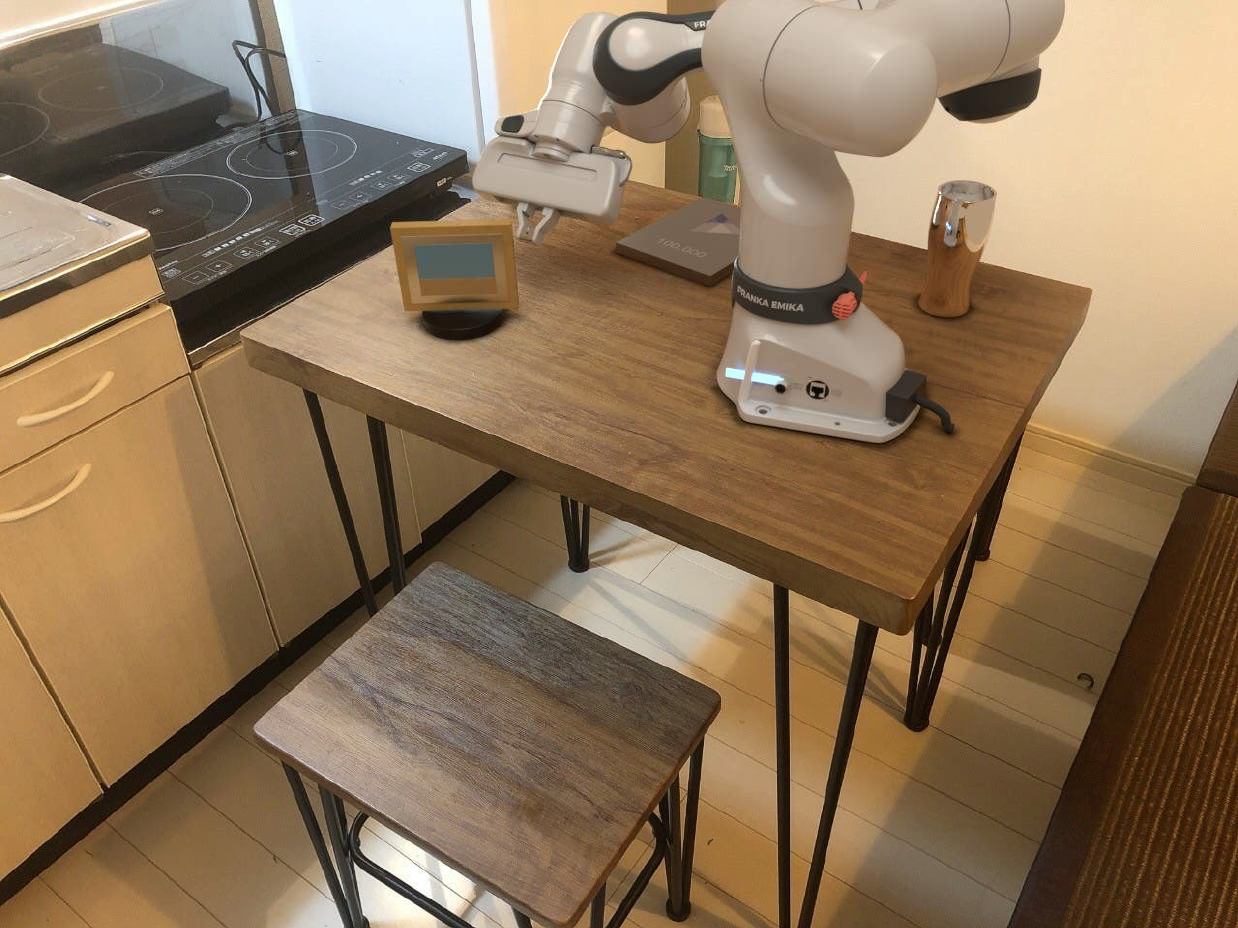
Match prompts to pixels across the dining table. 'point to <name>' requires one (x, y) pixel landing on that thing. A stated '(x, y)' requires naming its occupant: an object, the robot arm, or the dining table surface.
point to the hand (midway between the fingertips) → (527, 242)
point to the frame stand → (462, 323)
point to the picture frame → (456, 264)
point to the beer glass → (956, 245)
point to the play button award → (690, 241)
